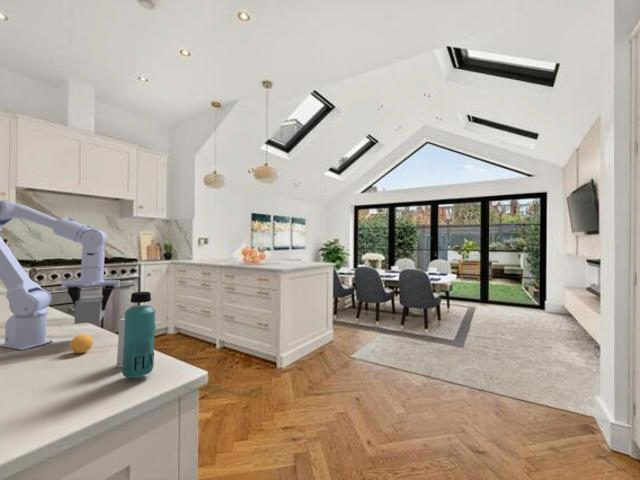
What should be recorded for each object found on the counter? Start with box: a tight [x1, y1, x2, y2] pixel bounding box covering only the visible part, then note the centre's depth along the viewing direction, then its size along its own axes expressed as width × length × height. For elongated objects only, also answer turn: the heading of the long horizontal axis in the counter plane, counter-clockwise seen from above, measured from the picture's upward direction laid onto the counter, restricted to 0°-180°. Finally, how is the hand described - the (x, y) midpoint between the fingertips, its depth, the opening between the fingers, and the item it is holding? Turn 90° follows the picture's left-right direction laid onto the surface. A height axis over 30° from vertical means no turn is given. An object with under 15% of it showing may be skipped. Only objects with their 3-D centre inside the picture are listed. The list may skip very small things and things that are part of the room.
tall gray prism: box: [73, 294, 106, 325], centre depth 94 cm, size 10×6×6 cm, turn 29°
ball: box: [69, 333, 94, 354], centre depth 84 cm, size 5×5×5 cm
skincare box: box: [116, 317, 125, 368], centre depth 78 cm, size 6×4×12 cm
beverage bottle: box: [121, 291, 157, 378], centre depth 70 cm, size 6×7×20 cm
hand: (90, 310), depth 94 cm, fingers closed on tall gray prism, 6 cm apart
